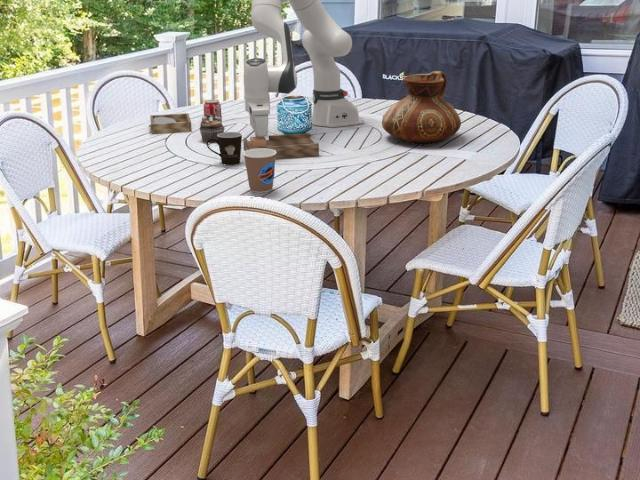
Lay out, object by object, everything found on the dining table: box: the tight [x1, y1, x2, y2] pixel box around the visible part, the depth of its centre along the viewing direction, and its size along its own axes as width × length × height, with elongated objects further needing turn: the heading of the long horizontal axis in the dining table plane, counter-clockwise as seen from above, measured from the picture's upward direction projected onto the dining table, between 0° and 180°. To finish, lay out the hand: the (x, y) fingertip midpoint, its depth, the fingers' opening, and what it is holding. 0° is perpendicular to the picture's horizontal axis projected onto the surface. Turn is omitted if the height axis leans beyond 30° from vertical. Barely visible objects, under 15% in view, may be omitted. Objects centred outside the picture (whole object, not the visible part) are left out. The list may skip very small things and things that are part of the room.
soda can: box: [203, 99, 223, 123], centre depth 325 cm, size 7×7×12 cm
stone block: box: [153, 117, 176, 124], centre depth 331 cm, size 12×5×10 cm
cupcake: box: [199, 114, 225, 144], centre depth 308 cm, size 10×10×10 cm
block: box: [249, 136, 267, 147], centre depth 283 cm, size 5×5×4 cm
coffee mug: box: [206, 131, 243, 166], centre depth 278 cm, size 12×9×10 cm
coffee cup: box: [242, 148, 277, 194], centre depth 247 cm, size 10×10×12 cm
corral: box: [149, 112, 192, 135], centre depth 330 cm, size 16×18×4 cm
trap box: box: [242, 132, 320, 160], centre depth 290 cm, size 25×17×4 cm
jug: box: [381, 70, 462, 146], centre depth 302 cm, size 30×30×25 cm
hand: (259, 143), depth 288 cm, fingers closed
